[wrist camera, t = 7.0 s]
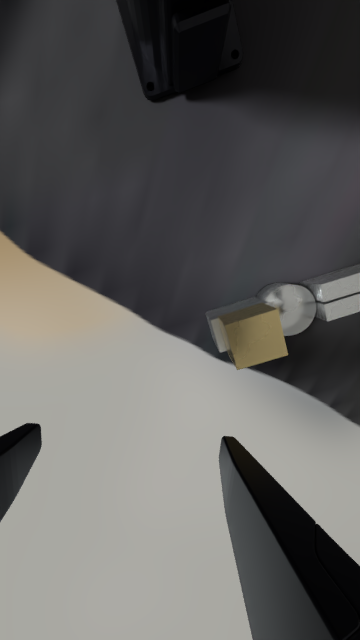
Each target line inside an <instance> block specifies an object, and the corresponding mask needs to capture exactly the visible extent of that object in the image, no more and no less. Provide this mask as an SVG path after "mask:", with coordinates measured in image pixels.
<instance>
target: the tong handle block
mask: <svg viewBox="0 0 360 640" xmlns="http://www.w3.org/2000/svg"><path fill="white" fill-rule="evenodd" d="M259 303H264V304H267V305H269V306H272V307H274V308H276V309H278V312H279V317H280V321H281V325H282V330H283V334H284V336H291V335H296V334H298V333H300V332H302V331H304V330H305V329H306V328H307V327H308V326H309V325H310V324H311V322H312V321H313V319H314V317H315V313H316V302H315V299H314V297H313V295H312V294H311V292H310V291H309V290H308V289H306V288H304V287H302V286H299V285H293V284H287V283H280V282H276V283H271V284H268V285H266V286H265V287H263V288H262V289H261V290H260V291H259V292H258V293H257V295H256V297H251V298H248V299H245V300H242V301H239V302H235V303H232V304H229V305H226V306H223V307H219V308H216V309H213V310H210V311H207V312H205V313H206V316H207V320H208V323H209V326H210V330H211V333H212V336H213V340H214V342H215V344H216V346H217V348H218V350H219V352H223V351H227V348H226V344H225V341H224V337H223V334H222V330H221V327H220V323H219V320H218V317H217V316H220V315H224V314H227V313H230V312H233V311H236V310H240V309H243V308H246V307H249V306H252V305H256V304H259Z"/></svg>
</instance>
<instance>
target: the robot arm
mask: <svg viewBox="0 0 360 640" xmlns="http://www.w3.org/2000/svg"><path fill="white" fill-rule="evenodd" d="M116 2H117V5H118V8H119V12H120V15H121V19H122V22H123V25H124V29H125V32H126V35H127V39H128V42H129V45H130V49H131V52H132V56H133V59H134V62H135V66H136V69H137V72H138V76H139V79H140V83H141V86H142V89H143V93H144V95H145V97H146V98H147V99H148V100H155V99H158V98H161V97H163V96H166V95H168V94H171V93H174V92H176V91H177V92H179V93H180V92H183V91H185V90H188V89H191V88H193V87H196V86H199V85H201V84H204V83H207V82H209V81H212V80H214V79H216V76H219V75H222V74H224V73H227V72H230V71H232V70H235V69H237V68H238V67H239V66H240V64H241V61H242V57H243V50H242V45H241V40H240V35H239V30H238V26H237V21H236V16H235V11H234V6H233V2H232V0H116ZM232 55H235V56H236V57H237V59H232V57H231V56H232ZM149 87H154V90H153V91H148V88H149ZM41 445H42V441H41V427H40V425H39V424H35V423H26V424H24V425H22V426H20V427H18V428H16V429H14V430H12V431H10V432H8V433H6V434H4V435H2V436H0V522H1V520H2V518H3V517H4V515H5V514H6V512H7V511H8V509H9V507H10V505H11V504H12V502H13V501H14V499H15V497H16V496H17V493H18V492H19V490H20V488H21V486H22V484H23V482H24V480H25V478H26V477H27V475H28V473H29V471H30V469H31V467H32V465H33V463H34V461H35V459H36V457H37V456H38V454H39V452H40V449H41ZM219 465H220V474H221V482H222V491H223V498H224V507H225V513H226V519H227V524H228V528H229V533H230V537H231V542H232V547H233V551H234V556H235V560H236V565H237V569H238V574H239V579H240V583H241V587H242V592H243V597H244V602H245V606H246V611H247V615H248V620H249V624H250V629H251V634H252V638H253V640H360V566H359V565H358V564H357V563H356V562H355V561H354V560H353V559H352V558H351V557H350V556H349V555H348V554H347V553H346V552H345V551H344V550H343V549H342V548H341V547H340V546H339V545H338V544H337V543H336V542H335V541H334V540H333V539H332V538H331V537H330V536H329V535H328V534H327V533H326V532H325V531H324V530H323V529H322V528H321V527H320V526H319V525H318V524H316V522H315V521H314V520H313V519H312V517H310V515H309V514H308V513H307V512H306V511H305V510H304V509H303V508H302V507H301V506H300V505H299V504H298V503H297V502H296V501H295V500H294V499H293V498H292V497H291V496H290V495H289V494H288V493H287V492H286V491H285V490H284V488H283V487H282V486H281V485H280V484H279V483H278V482H277V481H276V480H275V479H274V478H273V477H272V476H271V475H270V474H269V473H268V472H267V471H266V470H265V469H264V468H263V467H262V465H260V463H259V462H258V461H257V460H256V459H255V458H254V457H253V456H252V455H251V454H250V453H249V452H248V451H247V450H246V449H245V448H244V447H243V446H242V445H241V444H240V443H239V442H238V441H237V440H236V439H235V438H234V437H229V436H223V437H222V440H221V446H220V453H219Z"/></svg>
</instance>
